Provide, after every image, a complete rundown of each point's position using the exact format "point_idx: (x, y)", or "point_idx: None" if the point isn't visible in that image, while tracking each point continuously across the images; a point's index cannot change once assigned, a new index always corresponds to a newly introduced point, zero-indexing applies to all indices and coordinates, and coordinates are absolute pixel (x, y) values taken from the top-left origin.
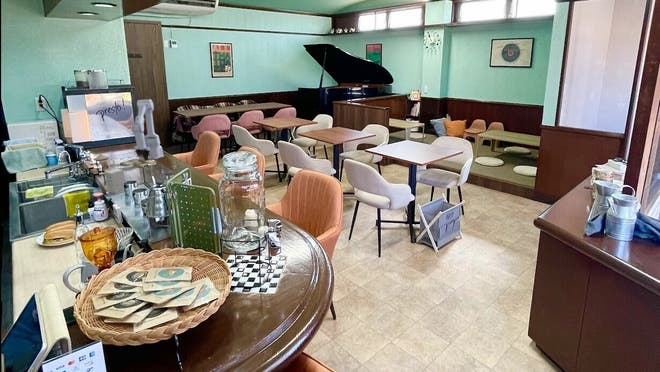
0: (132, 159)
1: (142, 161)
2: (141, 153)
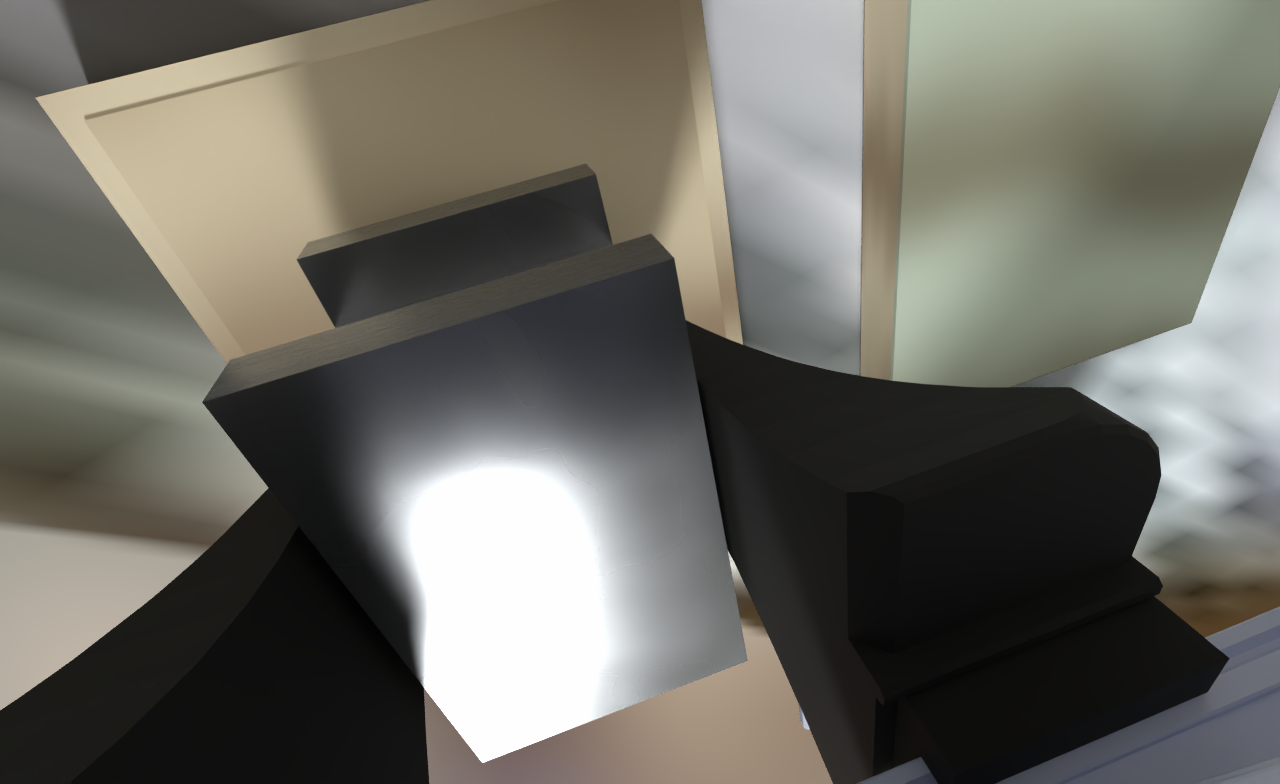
0: (1190, 279)
1: (307, 256)
2: (749, 560)
